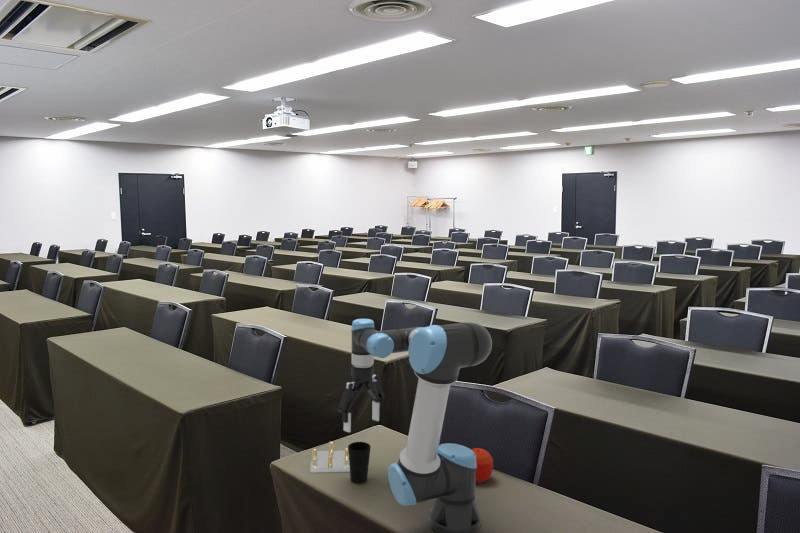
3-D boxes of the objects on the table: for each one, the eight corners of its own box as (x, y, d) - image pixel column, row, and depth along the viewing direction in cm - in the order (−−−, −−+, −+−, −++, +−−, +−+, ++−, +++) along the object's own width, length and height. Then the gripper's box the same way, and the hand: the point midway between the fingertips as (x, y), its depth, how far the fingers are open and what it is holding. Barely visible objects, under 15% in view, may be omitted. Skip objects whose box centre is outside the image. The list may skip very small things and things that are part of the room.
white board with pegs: (350, 471, 198) (350, 456, 198) (310, 472, 197) (310, 457, 196) (350, 454, 212) (350, 440, 212) (312, 455, 211) (312, 441, 210)
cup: (344, 483, 190) (344, 449, 189) (352, 473, 197) (352, 440, 196) (365, 486, 188) (365, 452, 187) (373, 476, 195) (373, 443, 194)
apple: (497, 478, 196) (498, 446, 195) (484, 490, 187) (486, 456, 186) (470, 470, 201) (472, 439, 200) (457, 481, 193) (458, 449, 192)
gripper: (380, 355, 201) (379, 413, 203) (327, 370, 183) (326, 432, 185) (395, 360, 196) (394, 418, 198) (342, 375, 178) (342, 439, 180)
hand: (361, 425), depth 192 cm, fingers open, 13 cm apart
